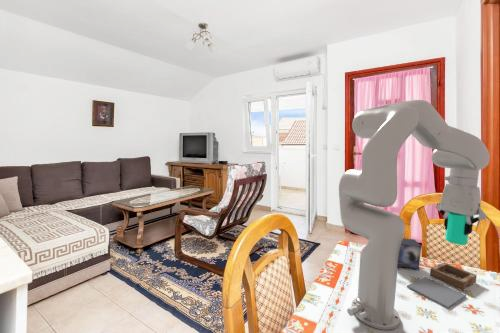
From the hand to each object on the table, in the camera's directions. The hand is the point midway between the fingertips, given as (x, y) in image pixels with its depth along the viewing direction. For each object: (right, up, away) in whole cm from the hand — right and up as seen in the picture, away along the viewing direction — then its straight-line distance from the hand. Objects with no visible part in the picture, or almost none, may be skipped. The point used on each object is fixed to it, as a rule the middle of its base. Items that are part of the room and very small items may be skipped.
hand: (457, 230), depth 86 cm
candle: (0, -4, +1) cm, 4 cm away
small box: (-12, -18, +12) cm, 25 cm away
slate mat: (-12, -19, -5) cm, 23 cm away
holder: (0, -19, +2) cm, 19 cm away
